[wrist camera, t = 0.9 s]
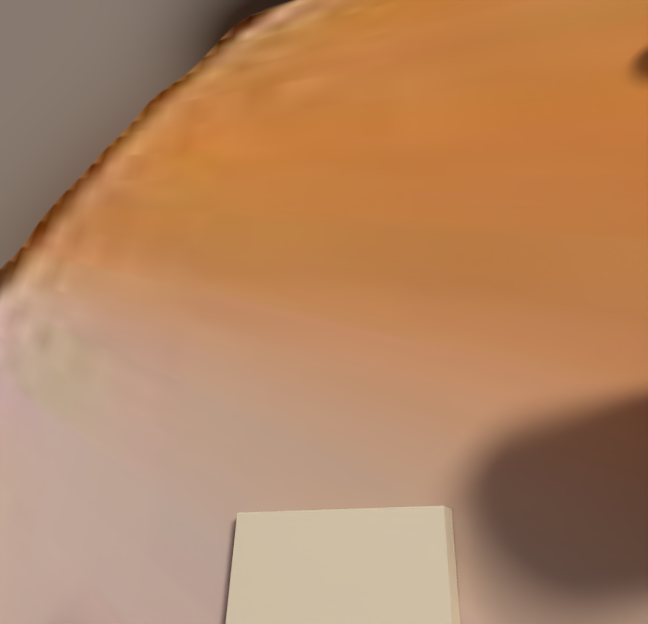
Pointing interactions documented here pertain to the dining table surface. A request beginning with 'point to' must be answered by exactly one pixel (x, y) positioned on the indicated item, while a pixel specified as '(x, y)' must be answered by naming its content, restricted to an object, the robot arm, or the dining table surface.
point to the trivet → (344, 567)
